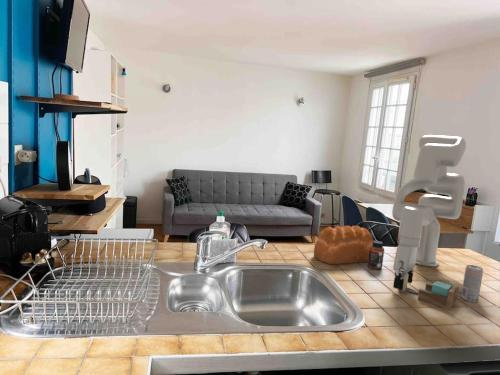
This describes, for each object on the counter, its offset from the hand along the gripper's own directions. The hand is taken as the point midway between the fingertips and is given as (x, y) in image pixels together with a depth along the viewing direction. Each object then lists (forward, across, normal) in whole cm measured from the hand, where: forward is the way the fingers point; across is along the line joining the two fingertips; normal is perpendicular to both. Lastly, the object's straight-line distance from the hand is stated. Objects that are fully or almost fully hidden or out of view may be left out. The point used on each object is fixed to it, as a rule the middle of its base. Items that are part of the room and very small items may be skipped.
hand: (402, 285), depth 139 cm
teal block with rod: (+1, 0, +7) cm, 7 cm away
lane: (+2, 0, +12) cm, 12 cm away
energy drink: (+2, -11, +20) cm, 23 cm away
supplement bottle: (+2, -15, -17) cm, 23 cm away
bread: (+2, -14, -31) cm, 34 cm away
